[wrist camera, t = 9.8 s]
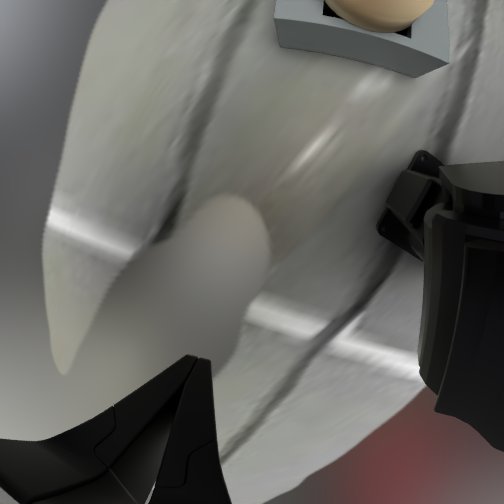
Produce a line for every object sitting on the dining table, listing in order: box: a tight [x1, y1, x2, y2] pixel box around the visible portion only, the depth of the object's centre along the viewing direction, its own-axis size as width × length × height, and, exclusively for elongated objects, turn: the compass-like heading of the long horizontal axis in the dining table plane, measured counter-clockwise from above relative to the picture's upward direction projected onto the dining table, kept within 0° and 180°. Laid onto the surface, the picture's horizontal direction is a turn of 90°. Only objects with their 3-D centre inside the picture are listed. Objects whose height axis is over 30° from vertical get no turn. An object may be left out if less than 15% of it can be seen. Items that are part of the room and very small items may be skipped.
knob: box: [324, 0, 434, 33], centre depth 10 cm, size 5×5×7 cm
